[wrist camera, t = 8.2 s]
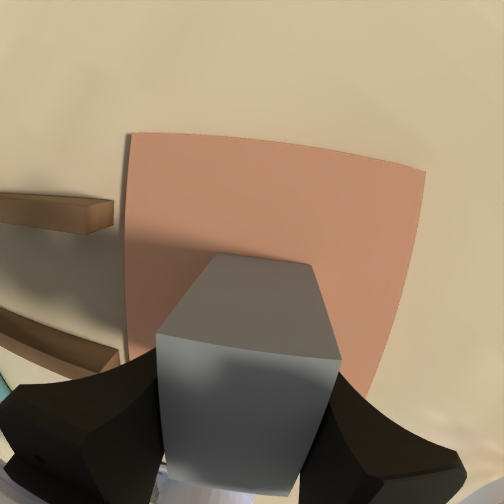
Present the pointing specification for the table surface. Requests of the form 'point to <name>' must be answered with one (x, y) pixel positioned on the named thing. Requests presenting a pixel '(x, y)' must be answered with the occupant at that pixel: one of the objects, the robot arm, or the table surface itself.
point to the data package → (3, 390)
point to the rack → (39, 336)
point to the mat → (270, 230)
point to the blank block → (245, 375)
